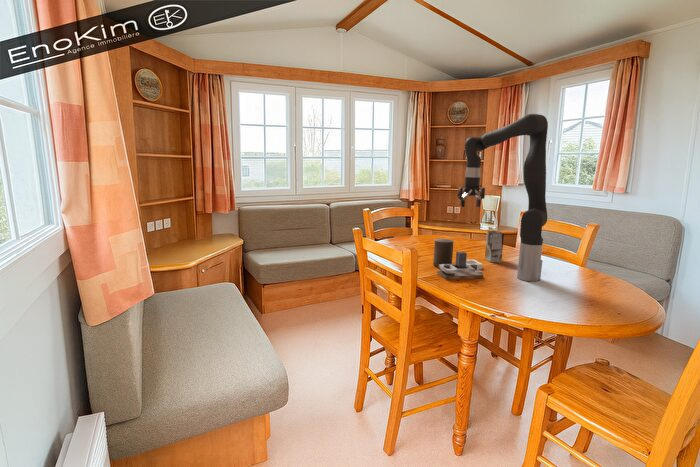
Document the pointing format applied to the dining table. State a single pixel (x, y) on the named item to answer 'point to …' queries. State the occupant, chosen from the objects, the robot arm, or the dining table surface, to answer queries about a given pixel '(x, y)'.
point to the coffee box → (494, 246)
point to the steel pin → (460, 260)
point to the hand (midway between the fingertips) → (470, 206)
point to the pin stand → (469, 262)
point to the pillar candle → (443, 252)
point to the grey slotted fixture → (459, 272)
